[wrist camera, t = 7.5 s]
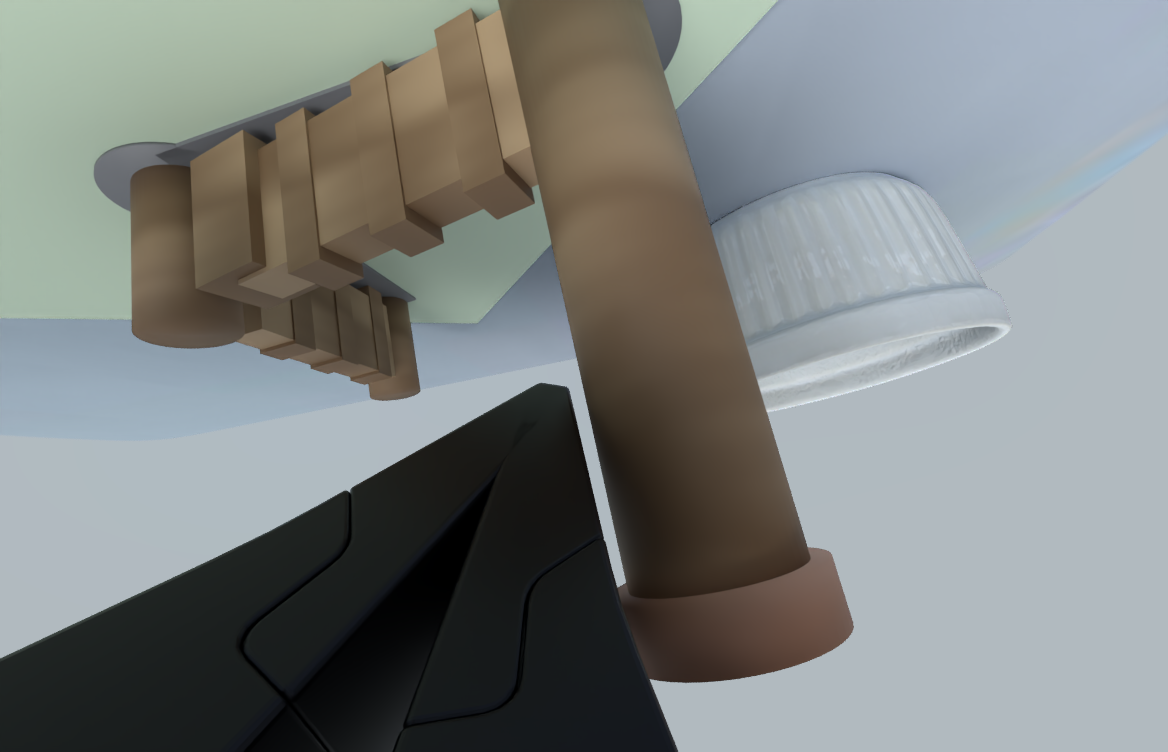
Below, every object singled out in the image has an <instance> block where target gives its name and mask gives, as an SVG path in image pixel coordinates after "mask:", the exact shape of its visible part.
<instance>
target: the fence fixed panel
mask: <svg viewBox="0 0 1168 752" xmlns="http://www.w3.org/2000/svg"><path fill="white" fill-rule="evenodd" d="M130 211H131V297H132V333H133V334H134V335H135V336H136V337H137V338H139V339H141V340H143V341H145V342H148V343H151V344H155V345H160V346H165V347H174V348H210V347H217V346H223V345H227V344H230V343H233V342H239V343H242V344H245V345H248V346H252V347H255V348H258V349H260V354H264V355H267V356H270V357H274V358H277V359H280V360H284V359H288V358H290V359H294V360H297V361H300V362H303V363H306V364H310V365H311V369H314V370H317V371H320V372H324V373H327V374H329V373H333V372H336V373H339V374H342V375H345V376H349V377H350V378H351V381H354V382H357V383H360V384H364V385H365V384H369V392H370V398H371V399H374V400H382V401H384V400H386V401H387V400H398V399H403V398H408V397H411V396H414V395H416V394H418V393H419V392H420V385H419V378H418V371H417V364H416V358H415V351H414V344H413V337H412V330H411V323H410V316H409V309H408V303H407V302H406V301H405V300H403V299H401V298H397V297H381V293H380V292H378V291H377V290H375V289H373V288H372V287H370V286H369V285H368V286H365V287H361V288H358V289H356V288H354V287H352V286H350V285H346V286H344V287H342V288H339V289H337V290H335V291H334V290H331V289H328V288H326V287H323V286H321V287H318V288H316V289H314V290H312V291H309V292H307V293H305V294H303V295H300V296H298V297H296V298H294V299H291V300H289V301H287V302H285V303H282V304H280V305H278V306H275V307H273V308H271V309H269V310H268V309H265V308H261V307H258V306H254V305H251V304H247V303H244V302H240V301H237V300H233V299H230V298H226V297H223V296H219V295H216V294H212V293H209V292H205V291H202V290H198V289H196V284H195V261H194V238H193V215H192V191H191V168H190V167H187V166H181V165H153V166H148V167H145V168H142V169H140V170H138V171H137V172H135V173H134V174H133V175H132V177H131V180H130Z"/></svg>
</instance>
